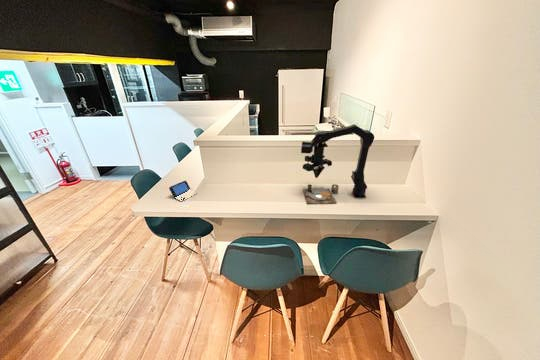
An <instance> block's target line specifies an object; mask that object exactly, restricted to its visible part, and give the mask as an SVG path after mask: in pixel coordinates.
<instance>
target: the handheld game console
mask: <svg viewBox="0 0 540 360" xmlns="http://www.w3.org/2000/svg"><path fill="white" fill-rule="evenodd" d="M168 189H169V192H170V193H171V194H172V196H173V199H174V198H175V197H177V196H179V195H181V194H183V193H185V192H187V191H188V190H189V189H191V187H190V186H189V183H188V181H187V180H183V181H181V182H179V183H176V184H173V185H171V186H169V187H168ZM181 198H182V197H181ZM184 199H185V197H184V198H183V200H184ZM181 200H182V199H181ZM184 201H185V200H184Z"/></svg>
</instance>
